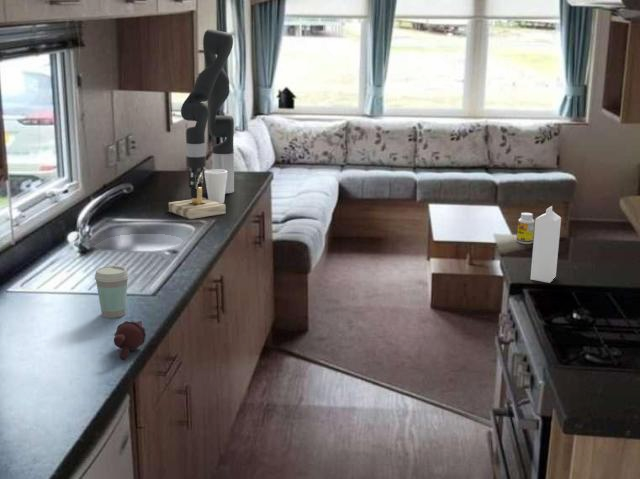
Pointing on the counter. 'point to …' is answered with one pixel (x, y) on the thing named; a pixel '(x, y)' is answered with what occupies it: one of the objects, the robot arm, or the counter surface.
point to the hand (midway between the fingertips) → (196, 195)
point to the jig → (197, 208)
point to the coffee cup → (112, 290)
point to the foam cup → (216, 184)
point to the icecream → (129, 337)
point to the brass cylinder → (198, 197)
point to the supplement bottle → (525, 228)
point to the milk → (545, 246)
